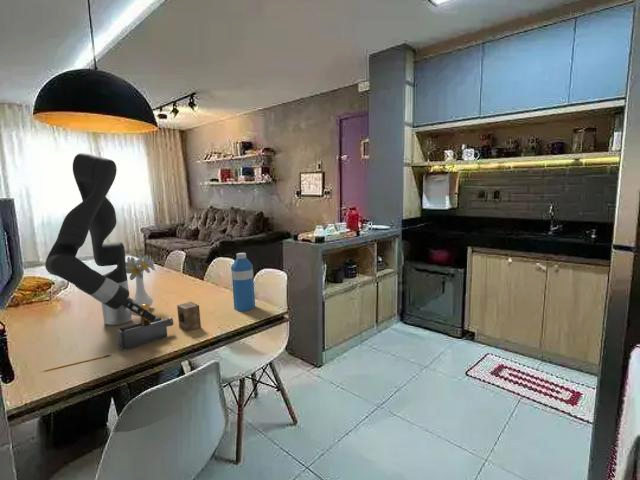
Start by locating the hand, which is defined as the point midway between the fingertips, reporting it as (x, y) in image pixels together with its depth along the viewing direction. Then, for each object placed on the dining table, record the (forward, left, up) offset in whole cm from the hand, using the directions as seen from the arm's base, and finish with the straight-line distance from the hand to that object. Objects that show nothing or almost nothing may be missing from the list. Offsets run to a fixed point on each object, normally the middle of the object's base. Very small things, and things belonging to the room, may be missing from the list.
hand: (150, 317), depth 124 cm
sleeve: (-2, -2, -8) cm, 9 cm away
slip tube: (-1, -1, -5) cm, 5 cm away
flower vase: (-20, +33, -8) cm, 40 cm away
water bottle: (+27, +31, -8) cm, 42 cm away
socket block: (+10, +10, -8) cm, 16 cm away
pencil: (-16, -17, -9) cm, 25 cm away
